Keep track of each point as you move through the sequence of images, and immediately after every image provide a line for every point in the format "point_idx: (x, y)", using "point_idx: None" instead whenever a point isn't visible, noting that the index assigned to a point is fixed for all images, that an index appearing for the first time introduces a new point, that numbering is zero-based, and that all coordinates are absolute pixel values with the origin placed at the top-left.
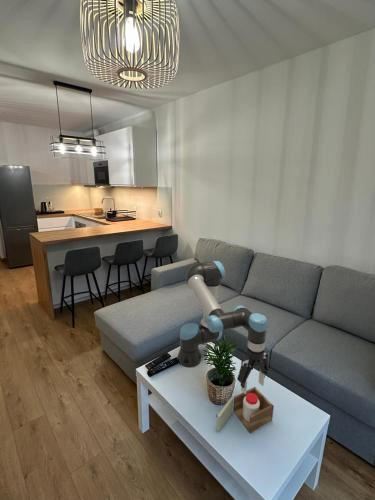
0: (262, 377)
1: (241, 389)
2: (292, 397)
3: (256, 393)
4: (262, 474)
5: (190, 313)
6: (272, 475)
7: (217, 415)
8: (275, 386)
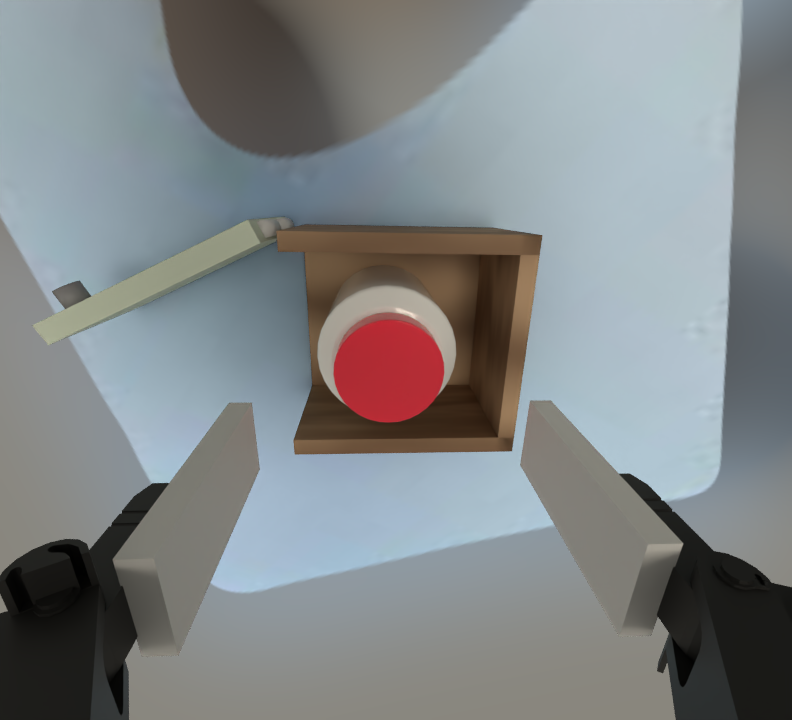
0: (582, 555)
1: (224, 413)
2: (716, 333)
3: (507, 276)
4: (248, 541)
5: None
6: (284, 557)
7: (62, 300)
8: (725, 207)
